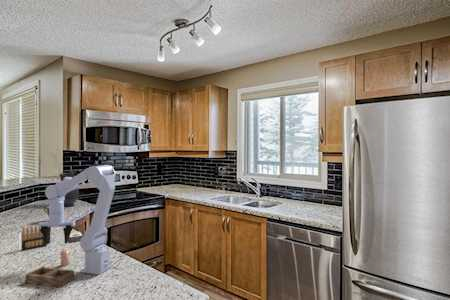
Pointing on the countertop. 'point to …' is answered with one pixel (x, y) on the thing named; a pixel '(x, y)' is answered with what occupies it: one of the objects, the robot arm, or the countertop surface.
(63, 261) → the clay rod
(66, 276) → the rack
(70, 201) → the pitcher
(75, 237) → the chocolate bar
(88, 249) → the robot arm
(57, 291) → the countertop surface
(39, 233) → the ammunition clip
